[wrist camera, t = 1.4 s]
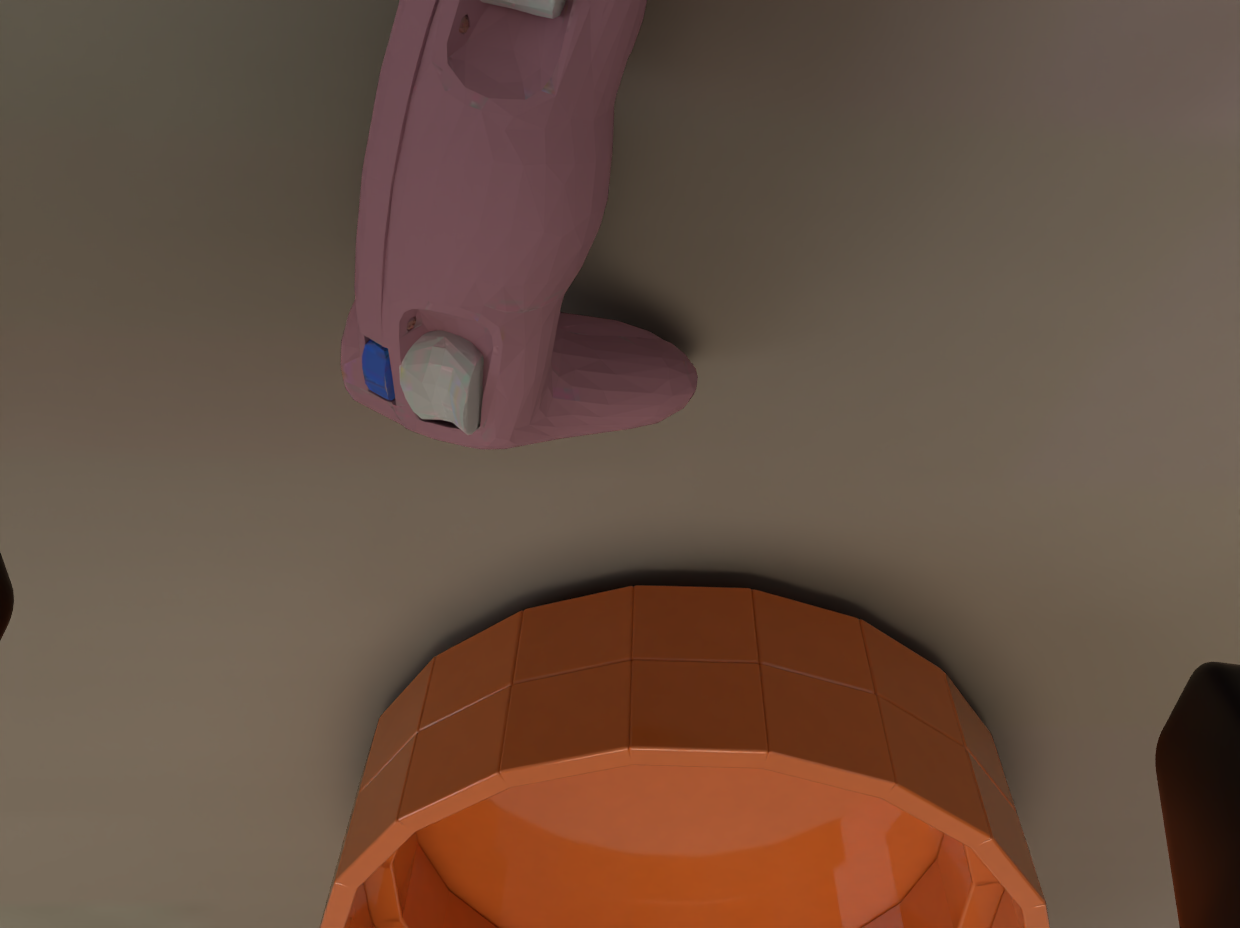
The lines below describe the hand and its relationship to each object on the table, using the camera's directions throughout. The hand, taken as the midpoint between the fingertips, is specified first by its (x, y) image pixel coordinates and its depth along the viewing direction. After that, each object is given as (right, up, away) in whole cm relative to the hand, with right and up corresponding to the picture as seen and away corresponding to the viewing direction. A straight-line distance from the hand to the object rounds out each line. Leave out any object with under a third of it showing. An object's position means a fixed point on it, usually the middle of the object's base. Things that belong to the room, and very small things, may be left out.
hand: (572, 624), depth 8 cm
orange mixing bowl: (+2, -8, +20) cm, 22 cm away
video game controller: (0, +7, +10) cm, 13 cm away
